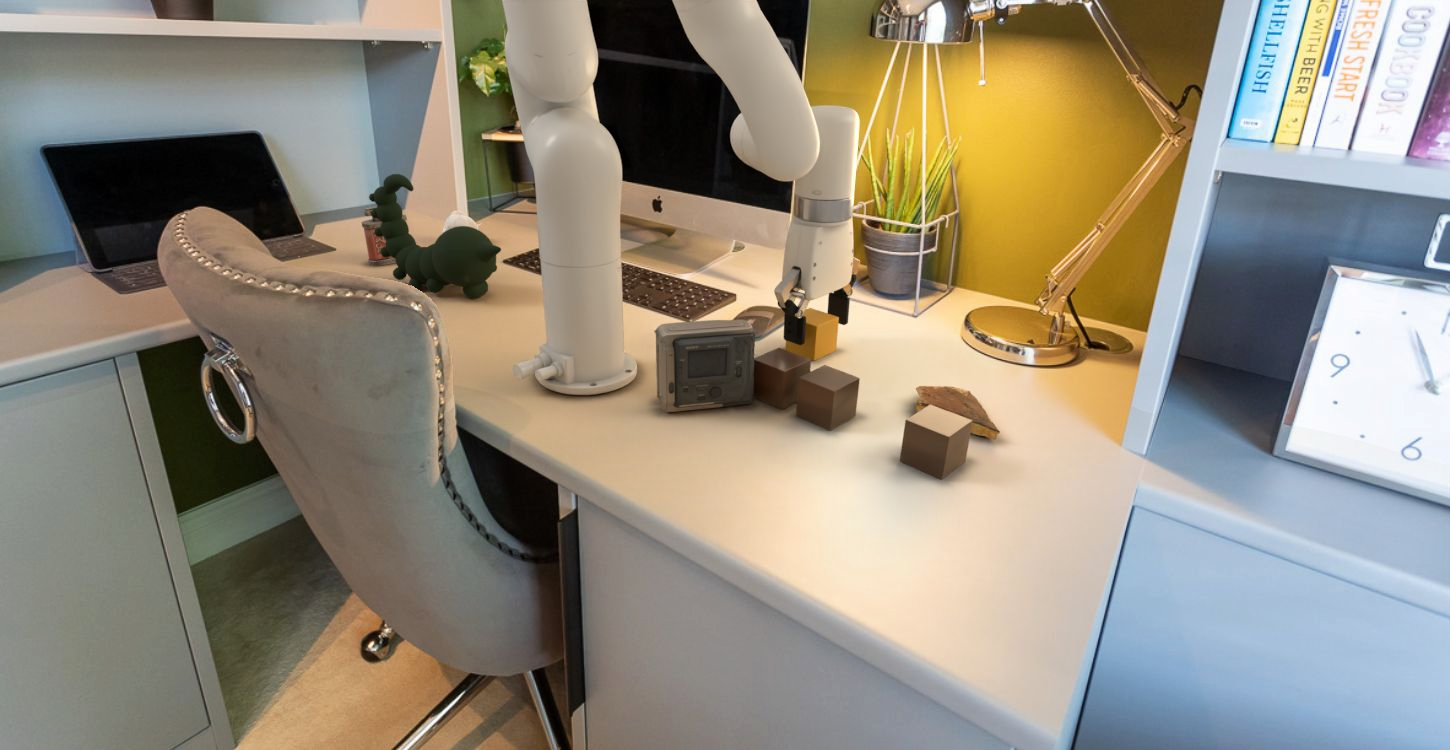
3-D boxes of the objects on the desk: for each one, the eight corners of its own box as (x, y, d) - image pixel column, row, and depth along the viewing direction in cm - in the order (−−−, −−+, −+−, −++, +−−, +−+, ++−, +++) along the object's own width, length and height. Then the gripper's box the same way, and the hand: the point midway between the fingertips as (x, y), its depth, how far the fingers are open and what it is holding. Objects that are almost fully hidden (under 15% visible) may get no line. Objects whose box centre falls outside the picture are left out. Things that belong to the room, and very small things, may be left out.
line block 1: (782, 410, 92) (784, 371, 90) (750, 396, 95) (752, 358, 93) (808, 396, 96) (811, 359, 93) (776, 383, 99) (779, 347, 97)
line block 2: (830, 431, 88) (834, 391, 86) (795, 415, 91) (798, 377, 89) (855, 416, 91) (860, 377, 89) (821, 402, 94) (824, 364, 92)
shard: (998, 443, 86) (1000, 429, 86) (929, 443, 86) (931, 428, 85) (967, 398, 96) (970, 385, 95) (906, 398, 96) (908, 385, 95)
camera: (745, 389, 97) (748, 313, 93) (756, 411, 92) (760, 332, 88) (653, 396, 95) (652, 319, 90) (660, 419, 90) (659, 338, 85)
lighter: (405, 253, 144) (396, 199, 140) (416, 257, 142) (408, 202, 138) (364, 263, 138) (354, 207, 134) (375, 267, 136) (366, 210, 132)
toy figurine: (374, 295, 128) (487, 311, 117) (346, 178, 121) (464, 182, 110) (419, 280, 136) (529, 293, 125) (395, 168, 129) (510, 172, 117)
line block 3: (941, 480, 79) (949, 437, 77) (899, 461, 83) (905, 419, 80) (965, 461, 83) (973, 420, 81) (923, 444, 86) (930, 404, 84)
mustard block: (814, 361, 105) (816, 326, 103) (785, 350, 108) (787, 316, 106) (835, 350, 109) (839, 317, 106) (807, 340, 112) (810, 307, 110)
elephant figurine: (439, 241, 152) (435, 210, 149) (481, 237, 155) (478, 207, 153) (445, 250, 146) (441, 219, 144) (488, 246, 150) (485, 215, 147)
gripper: (839, 192, 108) (831, 308, 115) (756, 215, 97) (754, 342, 104) (885, 201, 103) (874, 321, 111) (804, 226, 92) (798, 358, 99)
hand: (816, 331), depth 107 cm, fingers open, 9 cm apart
